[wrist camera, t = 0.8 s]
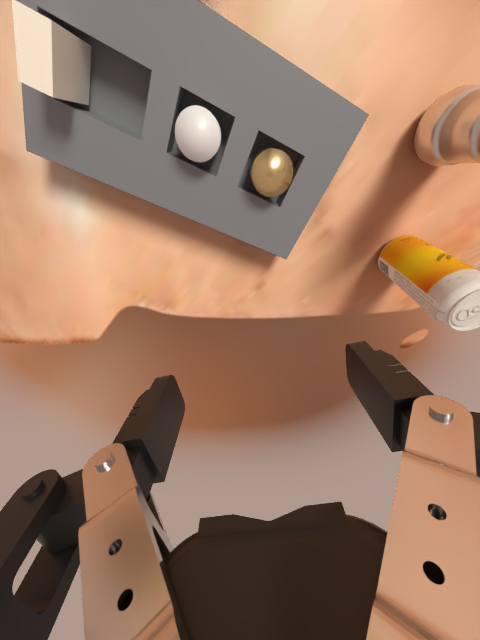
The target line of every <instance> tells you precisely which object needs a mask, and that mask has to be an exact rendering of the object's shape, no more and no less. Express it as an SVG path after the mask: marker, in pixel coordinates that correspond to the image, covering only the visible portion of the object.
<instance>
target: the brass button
mask: <svg viewBox="0 0 480 640" xmlns="http://www.w3.org/2000/svg"><path fill="white" fill-rule="evenodd" d="M250 177H251V180H252V182H253V184H254V186H255V188H256V189H257V191H258V192H259V193H261V194H262V195H264V196H267V197H275V196H278V195H280V194H282V193H283V192H284V191H285V190H286V189H287V188H288V187H289V185H290V183H291V181H292V178H293V164H292V161H291V159H290V157H289V156H288V155H287V154H286V153H285V152H283V151H282V150H279V149H275V148H264V149H262V150H260V151H259V152H258V153H257V154H256V155H255V156H254V157H253V159H252V161H251V165H250Z"/></svg>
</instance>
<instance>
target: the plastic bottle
mask: <svg viewBox="0 0 480 640" xmlns="http://www.w3.org/2000/svg"><path fill="white" fill-rule="evenodd" d="M414 145H415V151H416V154H417V156H418V157H419V158H420V159H421V160H422V161H424V162H426V163H428V164H430V165H433V166H448V165H454V164H459V163H480V85H464V86H461V87H458V88H456V89H454V90H452V91H450V92H448V93H446V94H444V95H442V96H441V97H440V98H438V99H437V100H436V101H435V102H434V103H433V104H432V105H431V106H430V107H429V108H428V109H427V111H426V112H425V113H424V115H423V117H422V118H421V120H420V123H419V125H418V127H417V130H416V134H415V140H414Z"/></svg>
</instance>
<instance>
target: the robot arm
mask: <svg viewBox="0 0 480 640" xmlns="http://www.w3.org/2000/svg"><path fill="white" fill-rule="evenodd" d="M346 365H347V366H346V368H347V377H348V381H349V384H350V386H351V388H352V389H353V391H354V392H355V394H356V395H357V397H358V399H359V400H360V402H361V404H362V405H363V407H364V408H365V410H366V411H367V413H368V415H369V416H370V418H371V419H372V421H373V423H374V424H375V426H376V427H377V429H378V431H379V432H380V434H381V435H382V437H383V438H384V440H385V442H386V443H387V445H388V447H389V448H390V450H391V451H392V452H396V451H403V453H402V458H401V463H400V468H399V475H398V479H397V484H396V490H395V495H394V501H393V506H392V511H391V517H390V522H389V528H388V532H386V531H385V530H383V529H382V528H380V527H378V526H376V525H375V524H373V523H370V522H368V521H366V520H364V519H361V518H358V517H355V516H350V515H346V514H345V511H344V508H343V505H342V503H341V502H335V503H326V504H318V505H309V506H304V507H302V508H299V509H297V510H295V511H293V512H291V513H288V514H286V515H283V516H281V517H279V518H277V519H274V520H272V521H264V520H259V519H254V518H249V517H244V516H239V515H234V514H233V515H224V516H216V517H207V518H200V523H199V530H198V532H197V533H195V534H193V535H192V536H190V537H189V538H187V539H185V540H184V541H183V542H181V543H180V544H179V545H178V546H177V547H176V548H175V549H174V548H173V546H172V544H171V542H170V540H169V537H168V535H167V533H166V530H165V527H164V525H163V522H162V519H161V517H160V514H159V512H158V509H157V507H156V504H155V501H154V499H153V496H152V494H151V492H150V490H151V487H152V484H153V483H159V482H164V481H165V477H166V474H167V470H168V467H169V463H170V460H171V457H172V454H173V450H174V447H175V443H176V440H177V437H178V433H179V429H180V426H181V423H182V420H183V416H184V412H185V404H184V400H183V397H182V394H181V392H180V389H179V387H178V384H177V382H176V379H175V377H174V376H173V375H169V376H163V377H158V378H156V379H155V380H154V382H153V384H152V386H151V388H150V389H149V390H146V391H145V392H144V393H143V394H142V395H141V396H140V397H139V398H138V400H137V401H136V403H135V405H134V406H133V409H132V410H131V412H130V414H129V417H127V419H126V421H125V422H124V424H123V426H122V428H121V429H120V431H119V433H118V435H117V436H116V438H115V440H114V442H113V444H110V445H108V446H106V447H103V448H102V449H100V450H99V451H97V452H96V453H95V454H94V455H93V456H92V457H91V458H90V459H89V460H88V462H87V463H86V464H85V466H84V468H83V469H82V470H79V471H77V472H75V473H72V474H70V475H68V476H65V477H63V478H62V477H61V476H60V475H59V473H58V472H57V471H56V470H46V471H43V472H41V473H39V474H37V475H35V476H33V477H32V478H30V479H29V480H28V481H26V482H25V483H24V484H23V485H22V486H21V487H20V488H19V489H18V490H17V491H16V492H15V493H14V495H13V496H12V497H11V499H10V500H9V501H8V502H7V504H6V505H5V506H4V507H3V509H2V510H1V511H0V640H47V639H48V637H49V635H50V633H51V630H52V628H53V626H54V623H55V621H56V619H57V616H58V614H59V612H60V609H61V607H62V604H63V602H64V600H65V598H66V595H67V593H68V590H69V588H70V586H71V583H72V581H73V579H74V576H75V574H76V572H77V569H78V567H79V565H80V569H81V583H82V584H81V585H82V600H83V616H84V632H85V640H480V413H476V412H469V411H468V410H467V409H466V408H465V407H464V406H463V405H461V404H459V403H458V402H456V401H454V400H451V399H448V398H446V397H442V396H435V395H434V394H433V393H431V392H430V391H429V390H428V389H427V388H426V387H425V386H424V385H423V384H422V383H421V382H420V381H419V380H418V379H417V378H416V377H415V376H413V375H412V374H411V373H410V372H408V370H407V369H406V368H405V367H404V366H403V365H401V363H400V362H399V361H398V360H396V359H395V358H394V357H393V356H392V355H390V354H388V353H386V352H384V351H381V350H378V351H374V350H373V349H372V348H371V347H370V346H369V344H368V343H367V342H365V341H362V342H357V343H351V344H347V345H346ZM36 539H37V540H38V541H39V542H40V543H41V544H42V547H41V549H40V551H39V553H38V554H37V556H36V558H35V560H34V561H33V563H32V565H31V567H30V568H29V570H28V572H27V574H26V575H25V577H24V579H23V581H22V583H21V585H20V586H19V588H18V590H17V591H16V593H15V595H13V592H12V585H13V581H14V578H15V575H16V573H17V571H18V569H19V568H20V566H21V564H22V563H23V561H24V559H25V558H26V556H27V554H28V553H29V551H30V549H31V548H32V546H33V544H34V543H35V541H36Z"/></svg>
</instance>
